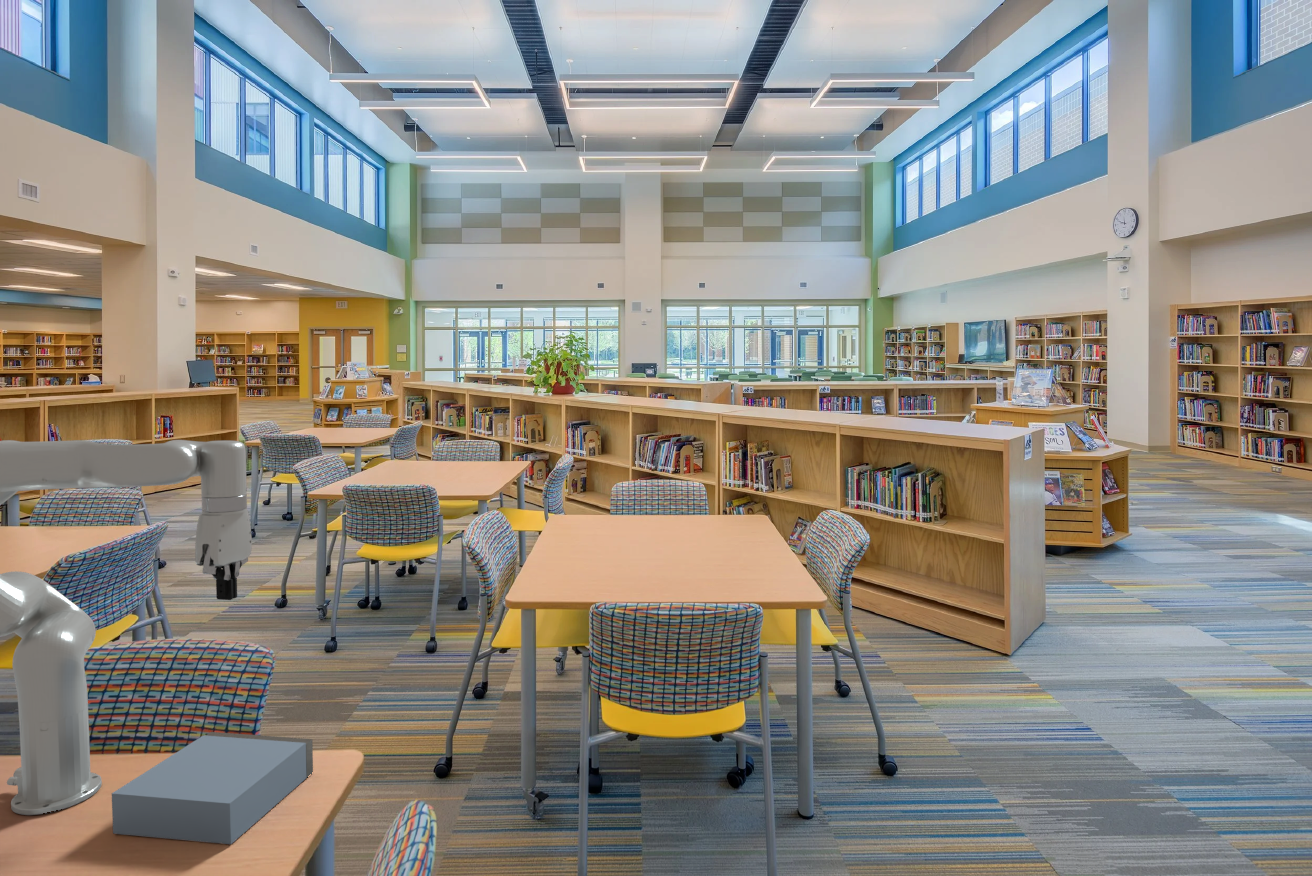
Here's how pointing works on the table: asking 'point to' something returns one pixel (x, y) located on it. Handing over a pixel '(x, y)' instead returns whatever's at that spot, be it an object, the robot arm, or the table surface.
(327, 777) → the table surface
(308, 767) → the long flat gray bar
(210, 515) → the robot arm
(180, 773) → the cover
